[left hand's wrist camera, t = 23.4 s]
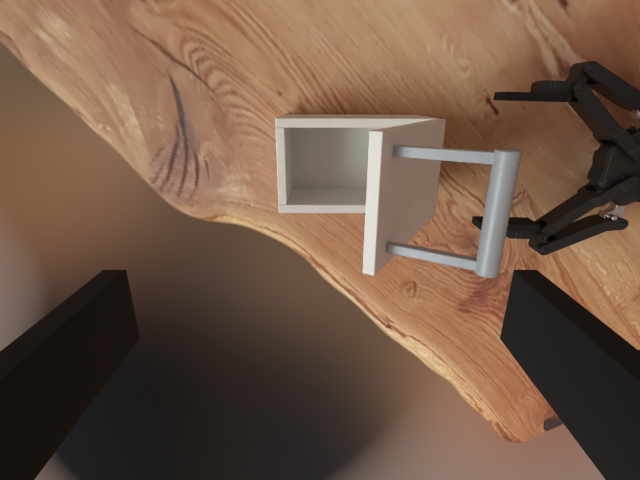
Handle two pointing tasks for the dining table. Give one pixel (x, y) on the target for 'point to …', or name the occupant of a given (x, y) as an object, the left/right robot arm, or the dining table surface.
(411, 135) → the lid
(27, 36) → the dining table surface
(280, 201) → the chest
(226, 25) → the dining table surface
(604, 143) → the right robot arm
